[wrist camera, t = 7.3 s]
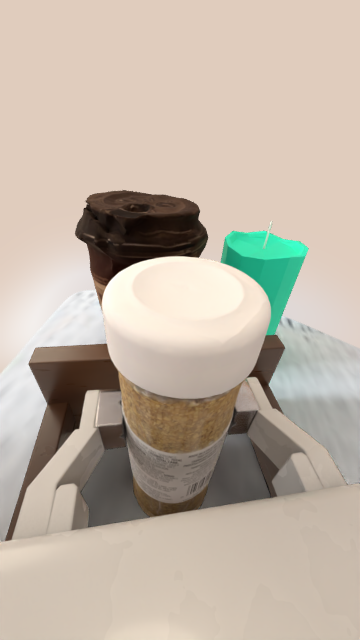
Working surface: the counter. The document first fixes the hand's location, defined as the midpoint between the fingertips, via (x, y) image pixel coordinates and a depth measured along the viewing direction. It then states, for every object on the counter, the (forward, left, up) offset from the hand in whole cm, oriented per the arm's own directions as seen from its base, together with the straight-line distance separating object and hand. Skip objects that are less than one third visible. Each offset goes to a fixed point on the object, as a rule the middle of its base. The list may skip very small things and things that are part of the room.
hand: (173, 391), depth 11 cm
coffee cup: (-1, +11, -8) cm, 13 cm away
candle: (+8, +10, -8) cm, 15 cm away
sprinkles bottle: (0, -1, -8) cm, 8 cm away
